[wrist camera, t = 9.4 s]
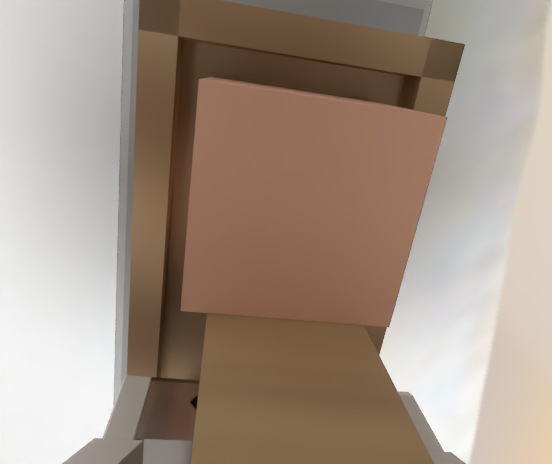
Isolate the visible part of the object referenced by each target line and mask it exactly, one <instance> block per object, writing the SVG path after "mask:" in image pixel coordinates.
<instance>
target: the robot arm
mask: <svg viewBox="0 0 552 464" xmlns="http://www.w3.org/2000/svg"><path fill="white" fill-rule="evenodd" d="M199 383H200V381H197V380H185V379H173V378H161V377H144V376H131V375H127V376H126V377H125V379H124V380H123V383H122V385H121V388H120V391H119V394H118V397H117V399H116V402H115V405H114V408H113V411H112V413H111V416H110V419H109V422H108V424H107V427H106V430H105V433H104V436H103V438H102V439H98V438H94V439H93V440H92V441H90V442H89V443H88V444H86V445H85V446H84V447H83V448H81V449H80V450H79V451H78V452H76V453H75V454H74V455H73V456H71V457H70V458H69V459H67V460H66V461H65V462H64V463H62V464H191V456H192V447H193V438H194V429H195V419H196V410H197V401H198V392H199ZM398 394H399V396H400V398H401V399H402V401H403V403H404V405H405V407H406V409H407V411H408V413H409V415H410V417H411V419H412V421H413V423H414V425H415V427H416V429H417V431H418V433H419V435H420V437H421V439H422V440H423V442H424V444H425V446H426V448H427V450H428V452H429V454H430V456H431V458H432V460H433V462H434V464H465V463H464V462H463V461H462V460H460V459H459V458H458V457H456V456H455V455H454V454H452V453H451V452H444V451H443V449H442V447H441V445H440V444H439V442H438V440H437V438H436V437H435V435H434V433H433V431H432V429H431V428H430V426H429V424H428V422H427V421H426V419H425V417H424V415H423V413H422V412H421V410H420V408H419V406H418V405H417V403H416V401H415V399H414V397H413V396H412V395H411V394H410V393H409V392H398Z"/></svg>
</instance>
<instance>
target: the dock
mask: <svg viewBox="0 0 552 464" xmlns="http://www.w3.org/2000/svg"><path fill="white" fill-rule="evenodd" d="M222 1H228V2H233V3H239V4H245V5H250V6H256V7H261V8H267V9H272V10H278V11H283V12H289V13H294V14H300V15H305V16H311V17H316V18H322V19H327V20H333V21H339V22H344V23H350V24H355V25H361V26H366V27H372V28H377V29H383V30H388V31H394V32H399V33H405V34H410V35H416V36H422V37H424V34H425V30H426V26H427V22H428V18H429V14H430V10H431V6H432V2H433V1H430V0H222ZM138 26H139V0H124V19H123V58H122V97H121V136H120V175H119V214H118V253H117V292H116V331H115V369H114V405H115V402H116V399H117V397H118V394H119V391H120V388H121V385H122V383H123V380H124V379H125V377H126V376H127V354H128V324H129V294H130V265H131V235H132V205H133V175H134V145H135V116H136V86H137V56H138Z"/></svg>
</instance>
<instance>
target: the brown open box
mask: <svg viewBox="0 0 552 464" xmlns="http://www.w3.org/2000/svg"><path fill="white" fill-rule="evenodd" d="M464 46H465V44H460V43H455V42H449V41H444V40H438V39H433V38H427V37H422V36H416V35H410V34H405V33H399V32H394V31H388V30H383V29H377V28H372V27H366V26H361V25H355V24H350V23H344V22H339V21H333V20H327V19H322V18H316V17H311V16H305V15H300V14H294V13H289V12H283V11H278V10H272V9H267V8H261V7H256V6H250V5H245V4H239V3H233V2H228V1H222V0H139V26H138V56H137V86H136V116H135V145H134V175H133V205H132V235H131V265H130V294H129V324H128V354H127V375H131V376H144V377H161V378H173V379H185V380H197V381H200V383H199V392H198V401H197V410H196V419H195V429H194V438H193V447H192V456H191V464H434V462H433V460H432V458H431V456H430V454H429V452H428V450H427V448H426V446H425V444H424V442H423V440H422V439H421V437H420V435H419V433H418V431H417V429H416V427H415V425H414V423H413V421H412V419H411V417H410V415H409V413H408V411H407V409H406V407H405V405H404V403H403V401H402V399H401V398H400V396H399V394H398V392H397V390H396V388H395V386H394V384H393V382H392V380H391V378H390V376H389V374H388V372H387V370H386V368H385V366H384V364H383V362H382V360H381V358H380V356H379V353H380V350H381V346H382V343H383V339H384V335H385V332H386V328H387V327H381V326H368V325H355V324H342V323H329V322H316V321H303V320H290V319H278V318H265V317H252V316H239V315H226V314H213V313H200V312H187V311H180V309H181V297H182V284H183V272H184V259H185V247H186V234H187V222H188V209H189V197H190V184H191V172H192V159H193V147H194V134H195V122H196V109H197V97H198V84H199V79H203V78H207V77H211V76H212V77H219V78H225V79H232V80H238V81H245V82H251V83H258V84H264V85H271V86H277V87H284V88H290V89H297V90H303V91H310V92H316V93H323V94H329V95H335V96H342V97H348V98H355V99H361V100H368V101H374V102H378V103H383V104H388V105H392V106H397V107H402V108H406V109H411V110H415V111H420V112H425V113H429V114H434V115H439V116H443V117H445V115H446V111H447V107H448V104H449V100H450V97H451V93H452V89H453V86H454V82H455V79H456V75H457V71H458V68H459V64H460V60H461V57H462V53H463V50H464Z"/></svg>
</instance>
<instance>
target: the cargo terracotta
mask: <svg viewBox="0 0 552 464" xmlns="http://www.w3.org/2000/svg"><path fill="white" fill-rule="evenodd" d="M446 120H447V117H443V116H439V115H434V114H429V113H425V112H420V111H415V110H411V109H406V108H402V107H397V106H392V105H388V104H383V103H378V102H374V101H368V100H361V99H355V98H348V97H342V96H335V95H329V94H323V93H316V92H310V91H303V90H297V89H290V88H284V87H277V86H271V85H264V84H258V83H251V82H245V81H238V80H232V79H225V78H219V77H212V76H211V77H207V78H203V79H199V84H198V97H197V109H196V122H195V134H194V147H193V159H192V172H191V184H190V197H189V209H188V222H187V234H186V247H185V259H184V272H183V284H182V297H181V309H180V311H187V312H200V313H213V314H226V315H239V316H252V317H265V318H278V319H290V320H303V321H316V322H329V323H342V324H355V325H368V326H381V327H389V325H390V322H391V318H392V315H393V311H394V307H395V304H396V300H397V297H398V293H399V289H400V286H401V282H402V279H403V275H404V271H405V268H406V264H407V261H408V257H409V253H410V250H411V246H412V243H413V239H414V235H415V232H416V228H417V225H418V221H419V217H420V214H421V210H422V206H423V203H424V199H425V196H426V192H427V188H428V185H429V181H430V178H431V174H432V170H433V167H434V163H435V160H436V156H437V152H438V149H439V145H440V142H441V138H442V134H443V131H444V127H445V124H446Z"/></svg>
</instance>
